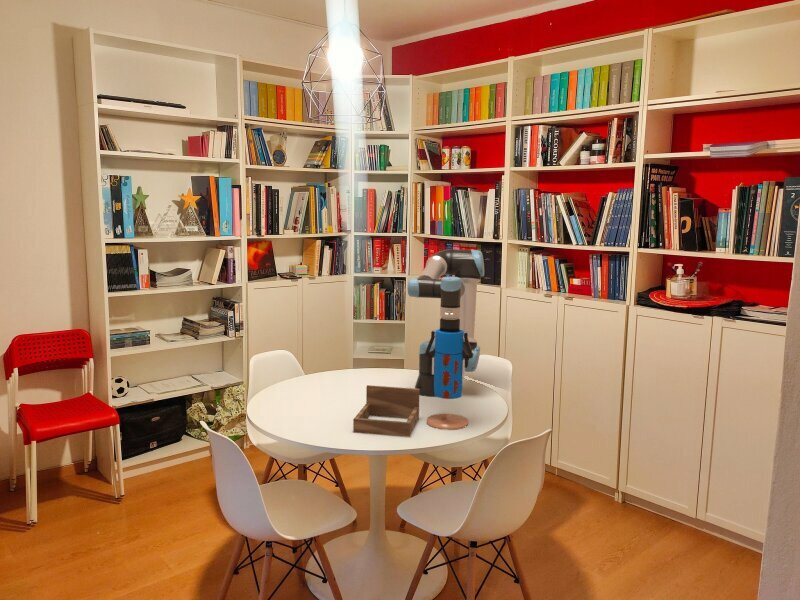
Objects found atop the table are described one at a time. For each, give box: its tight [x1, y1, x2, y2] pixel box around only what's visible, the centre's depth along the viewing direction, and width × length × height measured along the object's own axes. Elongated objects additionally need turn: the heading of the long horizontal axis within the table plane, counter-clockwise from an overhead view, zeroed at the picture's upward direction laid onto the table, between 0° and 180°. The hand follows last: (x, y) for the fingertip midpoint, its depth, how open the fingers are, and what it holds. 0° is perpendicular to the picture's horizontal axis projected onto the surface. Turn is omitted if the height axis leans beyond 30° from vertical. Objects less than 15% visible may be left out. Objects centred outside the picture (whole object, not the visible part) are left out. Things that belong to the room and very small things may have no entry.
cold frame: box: [352, 384, 420, 438], centre depth 244 cm, size 21×21×12 cm
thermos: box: [434, 328, 464, 400], centre depth 245 cm, size 11×11×25 cm
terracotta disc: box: [426, 413, 469, 430], centre depth 248 cm, size 16×16×1 cm
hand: (448, 374), depth 246 cm, fingers closed on thermos, 11 cm apart
